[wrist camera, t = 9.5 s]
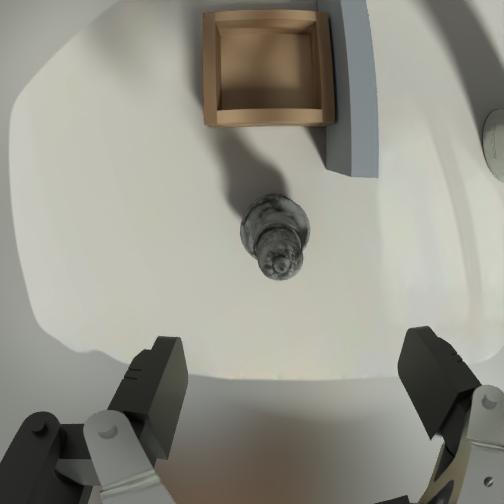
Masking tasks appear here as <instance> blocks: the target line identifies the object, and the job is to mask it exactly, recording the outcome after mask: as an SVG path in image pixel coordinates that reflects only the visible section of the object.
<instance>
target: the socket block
mask: <svg viewBox="0 0 504 504" xmlns="http://www.w3.org/2000/svg"><path fill="white" fill-rule="evenodd" d="M203 99H204V124H205V125H207V126H209V127H211V128H228V127H251V126H313V127H324V126H327V125H330V124H333V123H335V104H334V84H333V68H332V55H331V44H330V33H329V24H328V15H327V12H318V11H305V10H281V9H259V10H234V11H221V12H211V13H203Z"/></svg>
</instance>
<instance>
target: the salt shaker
mask: <svg viewBox="0 0 504 504" xmlns="http://www.w3.org/2000/svg"><path fill="white" fill-rule="evenodd" d="M240 235H241V240H242V243H243V245H244V247H245V249H246V250H247V252H248V253H249V254H250V255H251V256H252V257H254V258H255V259H257V260H258V264H259V267H260V269H261V271H262V272H263V273H264V275H265V276H267V277H268V278H270V279H273V280H277V281H283V280H288V279H290V278H292V277H293V276H295V275H296V274H297V273H298V272H299V270H300V269H301V266H302V264H303V252H302V251H303V250H304V249H305V247H306V245H307V243H308V240H309V236H310V225H309V220H308V218H307V216H306V213H305V212H304V211H303V210H302V208H301V207H300V206H299V205H298V204H296V203H295V202H293V201H292V200H290V199H288V198H287V197H284V196H281V195H276V194H270V195H265V196H263V197H261V198H259V199H257V200H256V201H255V202H254V203H252V205H251V206H250V208H249V209H248V210H247V212H246V213H245V215H244V216H243V219H242V222H241V227H240Z"/></svg>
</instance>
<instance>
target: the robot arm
mask: <svg viewBox="0 0 504 504" xmlns="http://www.w3.org/2000/svg"><path fill="white" fill-rule="evenodd" d="M483 148H484V153H485V158H486V161H487V164H488V166H489V168H490V170H491V172H492V173H493V174H494V176H495V177H496V178H497V179H498V180H500V181H502V182H504V109H497V110H494V111H493V112H492V113H490V115H489V116H488V118H487V120H486V122H485V125H484V130H483ZM128 369H129V370H127V372H126V374H125V376H124V379H122V381H121V383H120V385H119V387H118V389H117V391H116V393H115V395H114V397H113V399H112V401H111V403H110V405H109V407H108V409H107V410H104V411H100V412H97V413H95V414H93V415H92V416H91V417H90V418H88V420H87V421H86V423H85V424H60V423H59V421H58V419H57V418H56V417H55V416H54V415H53V414H51V413H49V412H36V413H33V414H32V415H30V416H29V417H27V418H26V419H25V421H24V422H23V423H22V425H21V427H20V428H19V430H18V432H17V434H16V435H15V437H14V439H13V441H12V443H11V444H10V446H9V448H8V450H7V452H6V453H5V455H4V457H3V459H2V461H1V463H0V504H88V501H89V498H90V495H91V492H92V488H93V486H94V485H97V486H102V491H100V497H101V500H102V502H103V504H176V503H175V502H174V500H173V499H172V497H171V496H170V494H169V493H168V491H167V489H166V488H165V486H164V484H163V483H162V481H161V480H160V478H159V476H158V474H157V473H156V471H155V469H154V466H155V462H156V459H157V458H160V459H166V460H168V457H169V453H170V449H171V445H172V442H173V438H174V434H175V430H176V426H177V422H178V419H179V415H180V411H181V408H182V404H183V400H184V397H185V393H186V389H187V385H188V371H187V366H186V361H185V356H184V350H183V345H182V341H181V338H180V337H165V336H158V337H157V339H156V341H155V343H154V345H153V347H152V349H151V350H146V349H144V350H143V351H142V352H140V353H139V354H138V355H137V356H136V357H134V359H133V361H132V362H131V364H130V366H129V368H128ZM398 374H399V377H400V379H401V381H402V383H403V385H404V387H405V389H406V391H407V393H408V395H409V397H410V399H411V401H412V403H413V405H414V407H415V409H416V411H417V413H418V415H419V417H420V419H421V421H422V423H423V425H424V427H425V430H426V432H427V434H428V436H429V438H430V440H435V439H438V438H441V437H443V439H444V443H443V444H442V446H441V449H440V452H439V455H438V458H437V461H436V464H435V467H434V470H433V473H432V476H431V479H430V481H429V484H428V486H427V489H426V490H425V492H424V494H423V495H422V496H421V498H420V500H419V501H418V503H409V499H408V496H407V495H405V496H402V497H398V498H395V499H392V500H387V501H383V502H379V503H375V504H504V393H503V391H502V390H500V389H499V388H497V387H495V386H492V385H482V384H481V383H480V382H479V380H478V379H477V378H476V376H475V375H474V374H473V373H472V371H471V370H470V369H469V367H468V366H467V365H466V363H465V362H463V361H462V358H461V357H460V356H459V354H458V355H457V352H456V351H455V349H454V348H453V347H452V346H451V344H449V343H448V342H446V341H445V340H443V339H442V338H440V337H437V336H436V334H435V333H434V332H433V331H432V329H431V328H430V327H429V326H423V327H416V328H410V329H408V331H407V333H406V336H405V340H404V343H403V347H402V350H401V354H400V357H399V361H398Z"/></svg>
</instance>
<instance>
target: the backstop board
mask: <svg viewBox="0 0 504 504" xmlns="http://www.w3.org/2000/svg"><path fill="white" fill-rule="evenodd" d="M317 7H318V12H327V15H328V24H329V33H330V44H331V55H332V68H333V84H334V104H335V123H333V124H330V125H327V126H326V169H327V170H330V171H334V172H337V173H340V174H344V175H347V176H350V177H367V178H378V158H379V141H378V105H377V88H376V74H375V63H374V54H373V45H372V37H371V30H370V23H369V16H368V10H367V4H366V0H317Z"/></svg>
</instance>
